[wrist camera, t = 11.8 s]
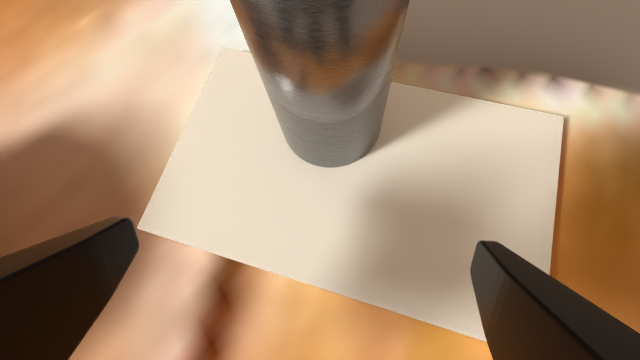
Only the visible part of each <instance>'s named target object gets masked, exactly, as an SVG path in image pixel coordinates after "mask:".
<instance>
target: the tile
mask: <svg viewBox="0 0 640 360" xmlns="http://www.w3.org/2000/svg"><path fill="white" fill-rule="evenodd" d="M563 121H564V116H559V115H554V114H549V113H544V112H539V111H534V110H530V109H525V108H520V107H515V106H510V105H505V104H500V103H495V102H490V101H485V100H480V99H475V98H470V97H465V96H461V95H456V94H451V93H446V92H441V91H436V90H431V89H426V88H421V87H416V86H411V85H406V84H401V83H396V82H392V81H391V85H390V90H389V94H388V99H387V103H386V108H385V112H384V116H383V121H382V125H381V130H380V134H379V137H378V139H377V141H376V143H375V145H374V146H373V148H372V149H371V150H370V151H369V152H368V153H367V154H366V155H365V156H364V157H362V158H361V159H359V160H358V161H356V162H354V163H352V164H349V165H346V166H342V167H334V168H327V167H319V166H316V165H312V164H310V163H308V162H306V161H304V160H302V159H301V158H299V157H298V156H297V155H296V154H295V153H294V152H293V151H292V150H291V148H290V147H289V145H288V144H287V142H286V139H285V137H284V134H283V132H282V129H281V127H280V124H279V122H278V119H277V117H276V114H275V112H274V109H273V107H272V104H271V102H270V99H269V97H268V94H267V92H266V89H265V87H264V84H263V82H262V79H261V77H260V74H259V72H258V69H257V67H256V64H255V62H254V59H253V57H252V54H251V53H249V52H244V51H239V50H234V49H229V48H224V47H222V49H221V51H220V53H219V56H218V58H217V60H216V62H215V64H214V66H213V68H212V70H211V72H210V75H209V77H208V79H207V81H206V83H205V85H204V87H203V89H202V91H201V93H200V96H199V98H198V100H197V102H196V104H195V106H194V108H193V110H192V112H191V115H190V117H189V119H188V121H187V123H186V125H185V127H184V129H183V131H182V134H181V136H180V138H179V140H178V142H177V144H176V146H175V148H174V150H173V153H172V155H171V157H170V159H169V161H168V163H167V165H166V167H165V169H164V172H163V174H162V176H161V178H160V180H159V182H158V184H157V186H156V188H155V191H154V193H153V195H152V197H151V199H150V201H149V203H148V205H147V207H146V210H145V212H144V214H143V216H142V218H141V220H140V222H139V224H138V226H137V229H140V230H143V231H146V232H149V233H152V234H155V235H158V236H161V237H164V238H167V239H170V240H174V241H177V242H180V243H183V244H186V245H189V246H192V247H195V248H198V249H201V250H204V251H207V252H211V253H214V254H217V255H220V256H223V257H226V258H229V259H232V260H235V261H238V262H241V263H245V264H248V265H251V266H254V267H257V268H260V269H263V270H266V271H269V272H272V273H275V274H278V275H282V276H285V277H288V278H291V279H294V280H297V281H300V282H303V283H306V284H309V285H312V286H315V287H319V288H322V289H325V290H328V291H331V292H334V293H337V294H340V295H343V296H346V297H349V298H352V299H356V300H359V301H362V302H365V303H368V304H371V305H374V306H377V307H380V308H383V309H386V310H389V311H393V312H396V313H399V314H402V315H405V316H408V317H411V318H414V319H417V320H420V321H423V322H426V323H430V324H433V325H436V326H439V327H442V328H445V329H448V330H451V331H454V332H457V333H460V334H464V335H467V336H470V337H473V338H476V339H479V340H482V341H485V342H487V340H486V337H485V334H484V330H483V326H482V322H481V318H480V314H479V310H478V305H477V301H476V297H475V293H474V288H473V284H472V280H471V275H470V267H471V263H472V259H473V255H474V252H475V248H476V245H477V243H478V242H479V241H480V240H486V241H497V242H499V243H501V244H502V245H504V246H505V247H507V248H508V249H510V250H511V251H513V252H514V253H516V254H518V255H519V256H521V257H522V258H524V259H525V260H527V261H528V262H530V263H531V264H533V265H535V266H536V267H538V268H539V269H541V270H542V271H544V272H545V273H547V274H548V275H550V264H551V253H552V242H553V231H554V220H555V209H556V198H557V187H558V176H559V165H560V154H561V143H562V132H563Z"/></svg>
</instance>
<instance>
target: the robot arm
mask: <svg viewBox="0 0 640 360" xmlns="http://www.w3.org/2000/svg"><path fill="white" fill-rule="evenodd" d="M138 249H139V241H138V238H137V234H136V231H135V228H134V224H133V222H132V220H131V219H130V218H127V217H112V218H109V219H106V220H103V221H100V222H98V223H95V224H92V225H89V226H86V227H84V228H81V229H78V230H75V231H73V232H70V233H67V234H64V235H61V236H59V237H56V238H53V239H50V240H48V241H45V242H42V243H39V244H36V245H34V246H31V247H28V248H25V249H22V250H20V251H17V252H14V253H11V254H9V255H6V256H3V257H0V360H68V359H69V358H70V356H71V355H72V354H73V352H74V351H75V349H76V348H77V346H78V345H79V344H80V342H81V341H82V339H83V338H84V336H85V335H86V334H87V332H88V331H89V329H90V328H91V326H92V325H93V324H94V322H95V321H96V319H97V318H98V316H99V315H100V314H101V312H102V311H103V309H104V308H105V306H106V305H107V303H108V302H109V300H110V299H111V297H112V295H113V294H114V292H115V290H116V288H117V287H118V285H119V283H120V281H121V280H122V278H123V276H124V274H125V273H126V271H127V269H128V267H129V266H130V264H131V262H132V260H133V259H134V257H135V255H136V253H137V251H138ZM470 275H471V280H472V284H473V288H474V293H475V297H476V301H477V305H478V310H479V314H480V318H481V322H482V326H483V330H484V334H485V337H486V340H487V343H488V346H489V349H490V352H491V355H492V358H493V360H640V334H639V333H638V332H636V331H635V330H633V329H632V328H630V327H629V326H627V325H626V324H624V323H622V322H621V321H619V320H618V319H616V318H615V317H613V316H612V315H610V314H609V313H607V312H605V311H604V310H602V309H601V308H599V307H598V306H596V305H595V304H593V303H592V302H590V301H589V300H587V299H585V298H584V297H582V296H581V295H579V294H578V293H576V292H575V291H573V290H572V289H570V288H568V287H567V286H565V285H564V284H562V283H561V282H559V281H558V280H556V279H555V278H553V277H551V276H550V275H548V274H547V273H545V272H544V271H542V270H541V269H539V268H538V267H536V266H535V265H533V264H531V263H530V262H528V261H527V260H525V259H524V258H522V257H521V256H519V255H518V254H516V253H514V252H513V251H511V250H510V249H508V248H507V247H505V246H504V245H502V244H501V243H499V242H497V241H486V240H480V241H479V242H478V243H477V245H476V248H475V252H474V255H473V259H472V263H471V267H470Z"/></svg>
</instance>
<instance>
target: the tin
mask: <svg viewBox="0 0 640 360" xmlns="http://www.w3.org/2000/svg"><path fill="white" fill-rule="evenodd" d="M230 2H231V4H232V7H233V9H234V12H235V14H236V17H237V19H238V22H239V24H240V27H241V29H242V32H243V34H244V37H245V39H246V42H247V44H248V47H249V49H250V52H251V54H252V57H253V59H254V62H255V64H256V67H257V69H258V72H259V74H260V77H261V79H262V82H263V84H264V87H265V89H266V92H267V94H268V97H269V99H270V102H271V104H272V107H273V109H274V112H275V114H276V117H277V119H278V122H279V124H280V127H281V129H282V132H283V134H284V137H285V139H286V142H287V144H288V145H289V147H290V148H291V150H292V151H293V152H294V153H295V154H296V155H297V156H298V157H299V158H301V159H302V160H304V161H306V162H308V163H310V164H312V165H316V166H319V167H327V168H334V167H342V166H346V165H349V164H352V163H354V162H356V161H358V160H359V159H361V158H362V157H364V156H365V155H366V154H367V153H368V152H369V151H370V150H371V149H372V148H373V146H374V145H375V143H376V141H377V139H378V137H379V134H380V130H381V125H382V121H383V116H384V112H385V108H386V103H387V99H388V94H389V90H390V85H391V81H392V76H393V72H394V67H395V63H396V58H397V54H398V50H399V45H400V41H401V36H402V32H403V27H404V23H405V18H406V14H407V9H408V5H409V0H230Z"/></svg>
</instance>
